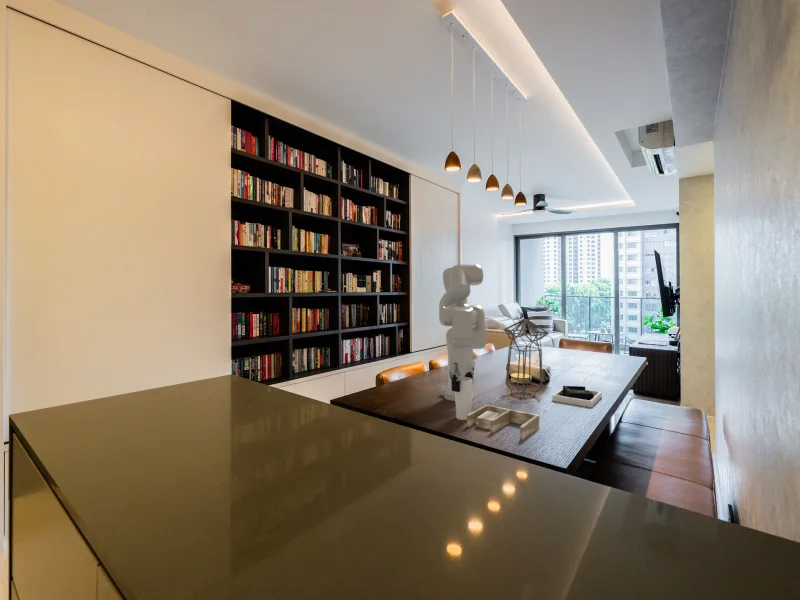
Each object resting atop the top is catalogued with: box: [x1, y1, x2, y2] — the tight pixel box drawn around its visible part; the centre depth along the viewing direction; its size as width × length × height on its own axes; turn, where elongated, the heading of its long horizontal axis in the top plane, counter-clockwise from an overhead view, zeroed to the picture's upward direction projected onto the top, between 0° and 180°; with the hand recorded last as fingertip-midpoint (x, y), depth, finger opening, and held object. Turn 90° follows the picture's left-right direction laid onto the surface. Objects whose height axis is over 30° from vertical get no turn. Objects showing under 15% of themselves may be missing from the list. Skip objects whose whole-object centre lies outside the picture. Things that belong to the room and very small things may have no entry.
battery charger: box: [562, 385, 594, 401], centre depth 171 cm, size 13×10×4 cm
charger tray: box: [551, 387, 603, 408], centre depth 171 cm, size 16×19×2 cm
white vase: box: [454, 377, 474, 421], centre depth 145 cm, size 7×7×15 cm
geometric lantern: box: [502, 318, 550, 400], centre depth 176 cm, size 16×16×35 cm
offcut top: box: [477, 411, 500, 425], centre depth 138 cm, size 5×9×2 cm, turn 146°
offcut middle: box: [475, 422, 491, 431], centre depth 138 cm, size 6×10×2 cm, turn 146°
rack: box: [466, 404, 540, 441], centre depth 135 cm, size 20×15×5 cm
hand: (462, 388), depth 145 cm, fingers open, 9 cm apart
